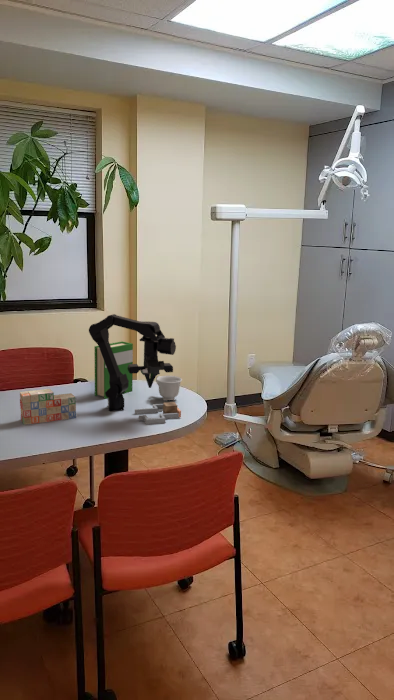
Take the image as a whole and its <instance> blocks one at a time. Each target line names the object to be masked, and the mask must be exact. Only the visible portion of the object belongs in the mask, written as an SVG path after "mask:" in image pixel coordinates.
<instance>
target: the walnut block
mask: <svg viewBox="0 0 394 700" xmlns="http://www.w3.org/2000/svg"><path fill="white" fill-rule="evenodd" d="M162 404H163V412H162V414H168V413H177V407H178V404H177V403H176V402H175V401H166V402H165V401H164V402H163V403H162Z"/></svg>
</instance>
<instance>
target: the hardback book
mask: <svg viewBox="0 0 394 700" xmlns="http://www.w3.org/2000/svg"><path fill="white" fill-rule="evenodd" d="M109 344H110V346H111V349H112V352H113V354H114V357H115V360H116V362H117V365H118V368H119V370H120V372H121V373H122V374H126V375H127V379H128V380H129V382H128V383H129V386H128V389H127V390H126V391H125V393H124V394H128V393H132V392H133V379H134V378H133V374H134V373H133V374H131V373H129V372H128V365H129V364H134V363H133V362H134V361H133V360H134V359H133V358H134V356H133V354H134V350H133V349H134V344H133V343H131V342H127V341H122V340H121V341H117V342H112V343H110V342H109ZM109 388H110V384H109V372H108V370H107V367H106V365H105V362H104V359H103V357H102V354H101V351H100V349H99V346H98V345H94V397H99V396H100V397H103V399H104V400H106V399H107V400H108V397H106V394H105V392H106V391H107V390H108V389H109ZM124 394H123V395H124Z"/></svg>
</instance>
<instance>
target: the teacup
mask: <svg viewBox="0 0 394 700" xmlns="http://www.w3.org/2000/svg"><path fill="white" fill-rule="evenodd" d="M182 381H183V378H181V377H180V376H176V375H161V376H160V375H157V376H156V377H155V382H156V385H158V393H159V396H161V397H162V400H163V401H165V400H173V401H175V400H176V397H177V396H178V395H179V393H180V386H181V382H182ZM174 399H175V400H174Z"/></svg>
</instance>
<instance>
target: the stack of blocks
mask: <svg viewBox="0 0 394 700" xmlns="http://www.w3.org/2000/svg"><path fill="white" fill-rule="evenodd" d="M76 402H77V401H76V396H75V394H73V393H72V392H70V393H60V394H55V392H54V391H53V390H52V389H51V388H45V389H36V390H28V391H27V390H26V391H19V409H20V420H21V422H22V424H23V425H33V424H39V423H41V424H42V423H48V422H54V421H61V420H71V419H76V418H77V403H76Z"/></svg>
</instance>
